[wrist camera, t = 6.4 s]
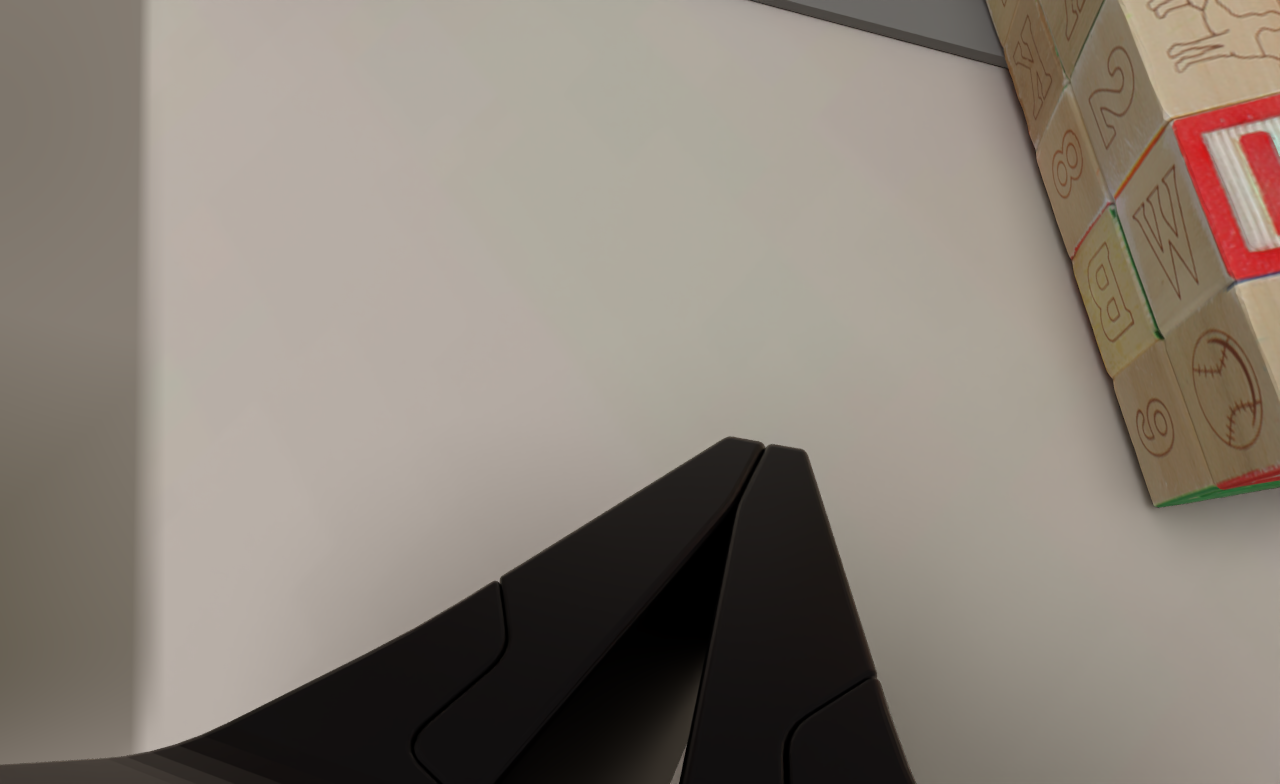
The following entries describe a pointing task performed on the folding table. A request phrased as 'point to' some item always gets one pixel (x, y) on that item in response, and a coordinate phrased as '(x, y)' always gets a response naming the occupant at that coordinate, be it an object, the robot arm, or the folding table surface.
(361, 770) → the robot arm
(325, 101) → the folding table surface
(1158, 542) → the folding table surface
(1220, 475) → the stack of blocks
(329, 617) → the folding table surface
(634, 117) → the folding table surface
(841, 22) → the mat
